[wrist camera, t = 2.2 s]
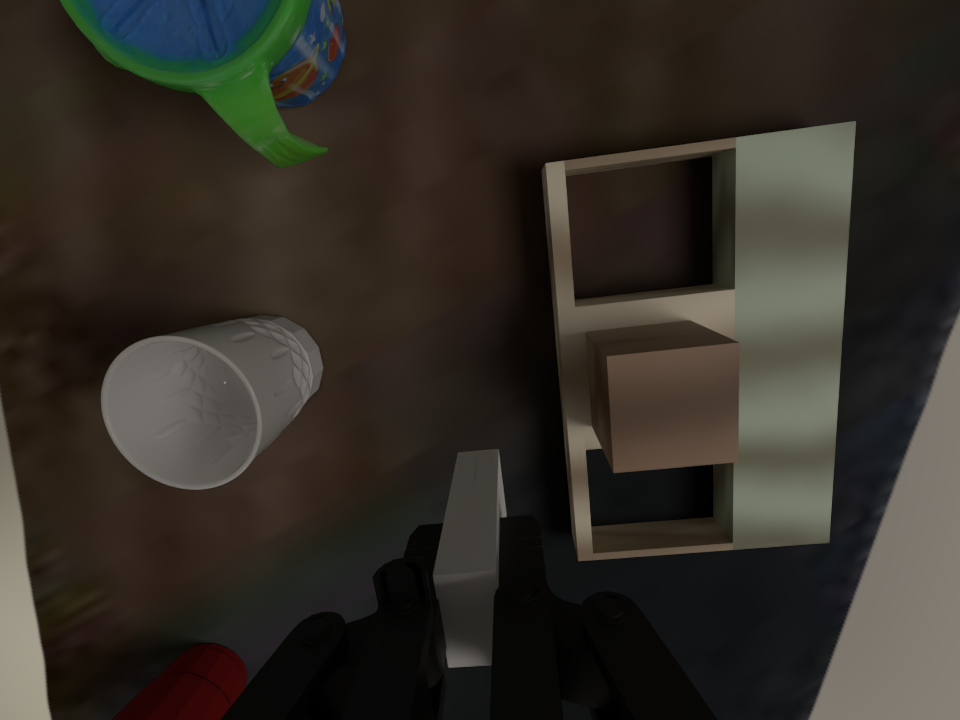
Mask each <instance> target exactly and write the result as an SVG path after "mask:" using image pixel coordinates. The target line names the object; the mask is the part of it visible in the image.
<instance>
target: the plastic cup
mask: <svg viewBox="0 0 960 720" xmlns="http://www.w3.org/2000/svg"><path fill="white" fill-rule="evenodd" d="M246 680H247V672H246V668H245V665H244V663H243V662H242V661H241V659H240V658H239V656H238V655H237V654H235V653H234V652H232V651H231V650H229V649H228V648H226V647H223V646H220V645H217V644H213V643H211V644H198V645H196V646H193V647H191V648H189V649H188V650H187V651H186V652H184V653H182V654H181V655H180V656H179V657H178V658H177V659H176V660H175V661H174V662H173V663H172V664H171V665H170V666H169V667H168V668H167V669H166V670H165V671H164V672H163V673H162V674H161V675H160V676H159V677H158V678H155V679H154V680H153V681H151V682H150V683H149V684H148V685H147V686H146V687H145V688H144V689H143V690H142V691H141V692H140V693H139V694H138V695H137V696H136V697H135V698H134V699H133V700H132V701H130V702H129V703H128V704H127V705H126V706H125V707H124V708H123V709H122V710H121V711H120V712H119V713H118V714H117V715H116V716H115V717H114V718H113V719H112V720H220V719H221V718H222V717H223V715H224V714H225V713H226V712H227V710H228V709H229V708H230V707H231V705H232V704H233V703H234V702H235V700H236V699H237V698H238V697H239V696H240V694H241V693H242V692H243V691H244V689H245V685H246Z"/></svg>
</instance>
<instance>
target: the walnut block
mask: <svg viewBox="0 0 960 720" xmlns="http://www.w3.org/2000/svg"><path fill="white" fill-rule="evenodd" d="M585 333H586V348H587V362H588V377H589V391H590V405H591V420H592V428H593V430H594V432H595V434H596V436H597V439H598V441H599V443H600V445H601V447H602V449H603V451H604V453H605V456H606V458H607V460H608V462H609V464H610V466H611V468H612V471H613V473H619V472H631V471H642V470H654V469H665V468H677V467H688V466H700V465H711V464H723V463H734V462H738V444H739V347H740V342H737V341H735V340H733V339H731V338H729V337H726V336H724V335H722V334H720V333H717V332H715V331H713V330H711V329H708V328H706V327H704V326H702V325H700V324H697V323H695V322H693V321H691V320H688V321H679V322H669V323H660V324H651V325H642V326H633V327H623V328H614V329H605V330H596V331H587V332H585Z"/></svg>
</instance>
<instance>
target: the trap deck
mask: <svg viewBox="0 0 960 720" xmlns="http://www.w3.org/2000/svg"><path fill="white" fill-rule="evenodd" d="M855 128H856V121H853V122H846V123H838V124H831V125H824V126H816V127H809V128H801V129H794V130H787V131H779V132H772V133H765V134H757V135H750V136H743V137H735V138H728V139H720V140H713V141H706V142H698V143H691V144H684V145H676V146H669V147H661V148H654V149H647V150H639V151H632V152H625V153H617V154H610V155H602V156H595V157H588V158H580V159H573V160H566V161H558V162H551V163H545V165H544V167H543V169H542V170H541V173H542V184H543V196H544V208H545V220H546V232H547V243H548V255H549V267H550V279H551V291H552V302H553V314H554V326H555V338H556V349H557V361H558V373H559V385H560V397H561V408H562V420H563V432H564V444H565V456H566V467H567V479H568V491H569V503H570V515H571V526H572V536H573V540H574V544H575V549H576V553H577V557H578V561H587V560H601V559H614V558H628V557H641V556H655V555H668V554H682V553H695V552H709V551H722V550H736V549H749V548H763V547H776V546H790V545H803V544H817V543H829V538H830V522H831V506H832V491H833V475H834V459H835V443H836V427H837V412H838V396H839V380H840V364H841V349H842V333H843V317H844V301H845V285H846V270H847V254H848V238H849V222H850V207H851V191H852V175H853V159H854V143H855ZM705 157H712V251H713V284H709V285H701V286H692V287H683V288H674V289H666V290H657V291H648V292H639V293H631V294H622V295H613V296H604V297H595V298H587V299H578V300H574V287H573V274H572V260H571V247H570V233H569V220H568V206H567V192H566V179H565V176H570V175H578V174H585V173H593V172H600V171H608V170H615V169H623V168H630V167H638V166H645V165H653V164H660V163H668V162H675V161H683V160H690V159H698V158H705ZM688 320H691V321H693V322H695V323H697V324H700V325H702V326H704V327H706V328H708V329H711V330H713V331H715V332H717V333H720V334H722V335H724V336H726V337H729V338H731V339H733V340H735V341H737V342H740V347H739V444H738V462H734V463H723V464H713V517H706V518H694V519H681V520H668V521H656V522H643V523H630V524H618V525H605V526H592V527H591V518H590V505H589V491H588V478H587V464H586V451H585V450H588V449H599V448H602V447H601V445H600V443H599V441H598V439H597V436H596V434H595V432H594V430H593V428H592V420H591V405H590V391H589V377H588V362H587V348H586V333H585V332H587V331H596V330H605V329H614V328H623V327H633V326H642V325H651V324H660V323H669V322H679V321H688Z"/></svg>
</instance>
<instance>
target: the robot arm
mask: <svg viewBox="0 0 960 720" xmlns="http://www.w3.org/2000/svg"><path fill="white" fill-rule="evenodd" d="M373 582H374V587H375V591H376V596H377V601H378V609H377V612H375V613H373V614H372V615H370V616H367V617H365V618H362V619H359V620H356V621H353V622H350V623H347V624H345V620H344V619H343V618H342V616H341V615H340V614H337V613H335V612H321V613H318V614H314V615H311V616H310V617H308V618H306V619H305V620H303V621H301V622H300V623H299V624H298V625H297V626H296V627H295V628H294V629H293V630H292V631H291V632H290V634H289V635H288V636H287V637H286V639H285V640H284V641H283V642H282V643H281V645H280V646H279V647H278V648H277V650H276V651H275V652H274V653H273V655H272V656H271V657H270V658H269V660H268V661H267V662H266V663H265V665H264V666H263V667H262V668H261V670H260V671H259V672H258V673H257V674H256V676H255V677H254V678H253V679H252V681H251V682H250V683H249V684H248V686H247V687H246V688H245V689H244V691H243V692H242V693H241V694H240V696H239V697H238V698H237V699H236V700H235V702H234V703H233V704H232V705H231V707H230V708H229V709H228V710H227V712H226V713H225V714H224V715H223V717H222V718H221V719H220V720H442V718H443V710H444V702H445V694H446V679H445V673H444V663H445V656H447V662H448V668H451V667H468V666H486V665H492V670H491V702H490V720H564V719H563V711H562V702H561V699H562V700H566V701H570V702H573V703H577V704H580V705H584V706H588V707H589V711H590V714H591V716H592V719H593V720H717V718H716V717H715V715H714V714H713V713H712V711H711V710H710V708H709V707H708V705H707V704H706V703H705V701H704V700H703V698H702V697H701V695H700V694H699V693H698V691H697V690H696V688H695V687H694V685H693V684H692V683H691V681H690V680H689V678H688V677H687V675H686V674H685V673H684V671H683V670H682V668H681V667H680V665H679V664H678V663H677V661H676V660H675V658H674V657H673V655H672V654H671V653H670V651H669V650H668V648H667V647H666V645H665V644H664V643H663V641H662V640H661V638H660V637H659V635H658V634H657V633H656V631H655V630H654V628H653V627H652V625H651V624H650V623H649V621H648V620H647V618H646V617H645V615H644V614H643V613H642V611H641V610H640V608H639V607H638V606H637V605H636V604H635V603H634V602H633V601H632V600H631V599H630V598H628V597H626V596H624V595H622V594H620V593H615V592H610V591H607V592H598V593H595V594H593V595H591V596H589V597H588V598H587V599H586V600H585V601H584V602H583V603H582V605H580V604H575V603H571V602H567V601H564V600H562V599H560V598H559V597H557V596H556V595H555V594H553V593H552V592H551V590H550V589H549V587H548V584H547V580H546V572H545V564H544V556H543V548H542V539H541V531H540V524H539V523H538V522H537V521H536V520H535V518H534V517H533V516H532V515H526V516H514V517H506V507H505V498H504V490H503V482H502V474H501V466H500V457H499V449H493V450H482V451H471V452H460V453H458V456H457V460H456V465H455V470H454V475H453V480H452V485H451V489H450V494H449V499H448V504H447V509H446V514H445V518H444V523H441V524H429V525H419V526H418V527H417V529H416V530H415V531H414V532H413V533H412V534H411V535H410V537H409V540H408V544H407V547H406V550H405V553H404V558H400V559H395V560H393V561H390V562H388V563H386V564H384V565H383V566H382V567H381V568H379V569H378V570H377V571H376V573H375V574H374V576H373Z"/></svg>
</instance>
